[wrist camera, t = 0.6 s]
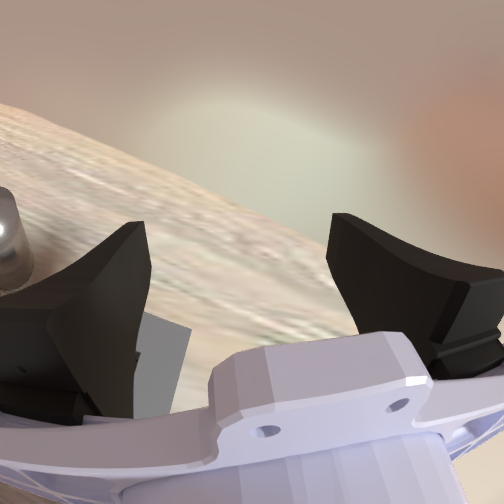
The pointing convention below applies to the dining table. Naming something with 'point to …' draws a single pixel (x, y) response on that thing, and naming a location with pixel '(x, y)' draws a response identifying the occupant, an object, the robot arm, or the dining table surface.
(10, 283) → the round dowel
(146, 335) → the bore block
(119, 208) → the dining table surface
